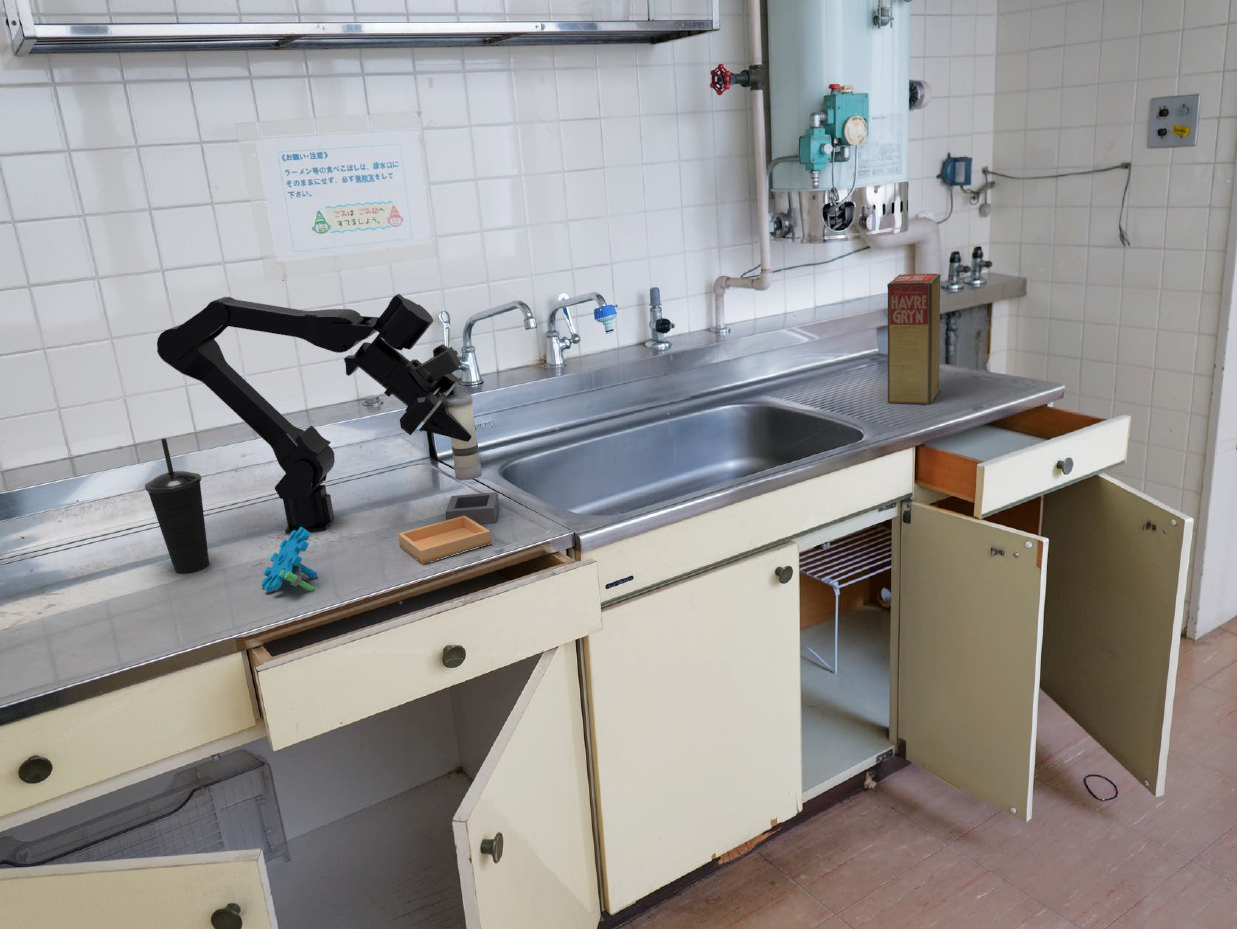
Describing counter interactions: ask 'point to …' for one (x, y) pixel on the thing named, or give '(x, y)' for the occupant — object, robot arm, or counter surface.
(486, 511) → the socket block
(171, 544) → the drinking cup
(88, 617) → the counter surface
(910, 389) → the food packaging
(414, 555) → the tray
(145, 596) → the counter surface
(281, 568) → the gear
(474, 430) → the cylinder
